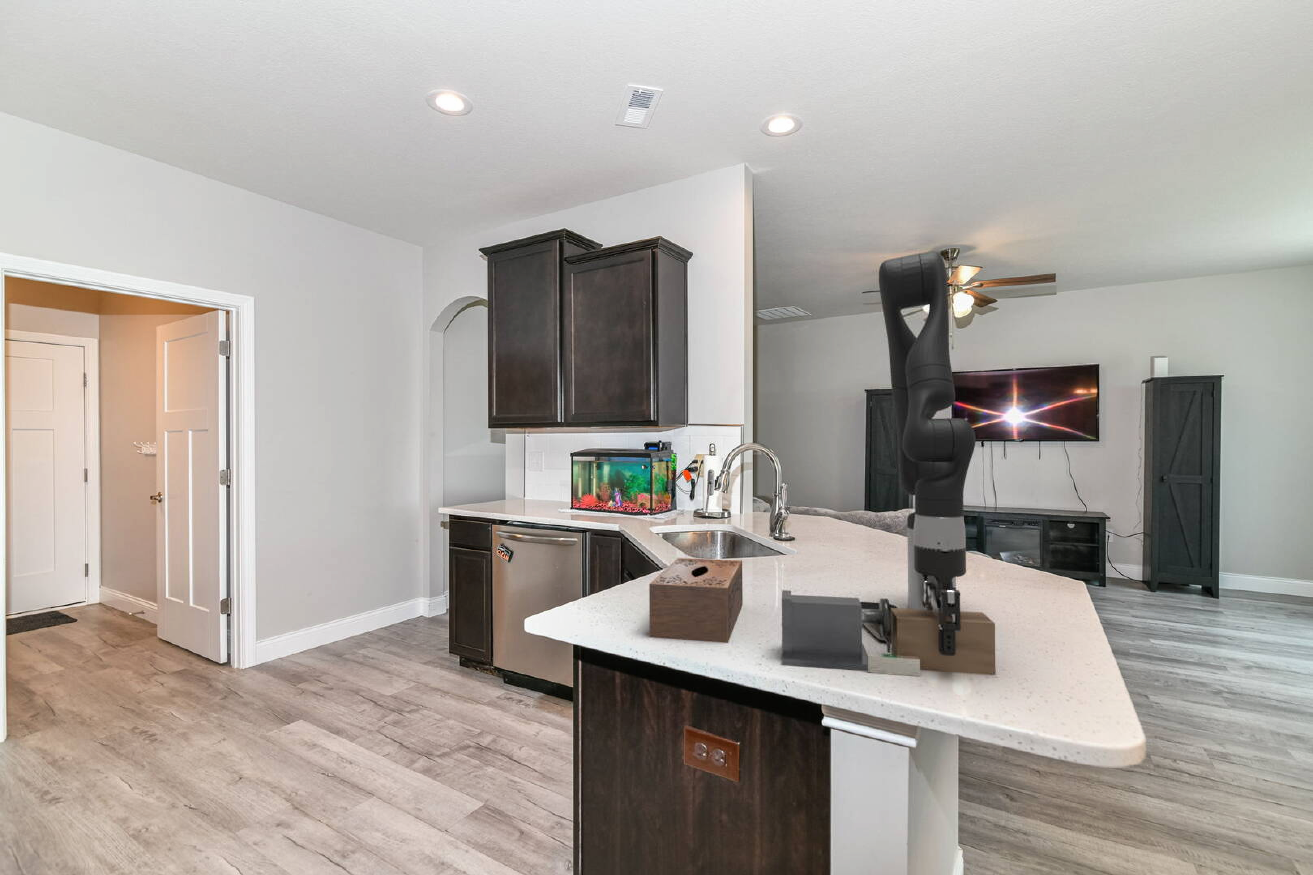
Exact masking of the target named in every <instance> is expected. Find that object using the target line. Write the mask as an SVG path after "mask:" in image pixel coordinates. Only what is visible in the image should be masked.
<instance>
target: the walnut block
mask: <svg viewBox="0 0 1313 875" xmlns="http://www.w3.org/2000/svg"><path fill="white" fill-rule="evenodd" d="M946 622H951V618H950V617H946ZM960 623H961V629H960V631H955V645H956V654H955V655H954V656H946V655H941V654H940V652H939V628H938V621H937V617H936V616H934V615H933V611H932V610H921V609H909V608H901V607H900V608H898V607H897V608H891V641H890V654H894V655H900V656H915V657H919V659H920V671H926V672H927V671H929V672H941V673H942V672H944V673H960V674H969V675H970V674H971V675H985V676H986V675H989V676H996V623H995V622H994V621H993V620H991V618H990V617H988V616H987V615H986V614H985V613H983V612H982V611H981V612H979V611H961V610H960Z"/></svg>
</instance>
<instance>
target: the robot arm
mask: <svg viewBox="0 0 1313 875" xmlns="http://www.w3.org/2000/svg"><path fill="white" fill-rule="evenodd" d="M947 276H948V275H947V269H946V264H945V261H944V258H943V256H942V255H941V254H940V253H939V252H938V251H926V252H919V253H914V254H910V255H903V256H900V257H894V258H890V259H886V260H883V261H882V263H881V264H880V266H879V271H878V283H879V285H878V287H879V293H880V298H881V300H880V302H881V308H882V312H883V317H884V323H885V330H886V335H887V336H886V337H887V344H888V354H889V357H888V358H889V369H890V370H889V371H890V383H891V394H892V401H893V408H894V413H895V421H896V422H895V423H896V431H897V452H898V453H897V454H898V458H897V459H898V476H899V477H898V478H899V483H900V484H899V485H900V487H901V490H902V492H903V493H904V494H906V495H909V496H914V512H911V513H909V514H908V516H907V519H906V520H907V521H906V524H907V527H906V528H907V529H906V531H907V533H906V534H907V602H908V603H907V604H908V606H907V609H921V610H932V611H933V615H934V616H936V617H937V621H938V628H939V652H940V654H941V655H946V656H954V655H955V654H956V645H955V631H960V629H961V623H960V611H961V592H960V590H959V589H957V578H960V577H963V576H965V575H966V574H967V550H966V549H967V545H966V542H967V540H966V538H967V536H966V535H967V533H966V525H965V524H966V523H965V520H964V518H965V517H964V492H965V491H964V490H965V489H964V488H965V485H966V484H965V483H966V480H967V474H968V470H969V467H970V464H971V461H972V457H973V454H974V451H975V446H976V441H977V440H976V432H975V430H974V428H973V426H972V424H971V423H970V422H969V421H967V419H964V418H960V417H959V418H956V417H955V418H953V417H951V418H948V417H947V418H934V417H935V415H936V414H937V413H938V412H940V411H941V412H942V411H944V410H946V409H948V408H950V407H952V405H953V404H954V402H956V389H955V383H954V377H953V370H952V365H951V356H950V322H949V321H950V317H949V316H950V315H949V311H950V310H949V293H948V292H949V291H948V290H949V288H948V278H947ZM928 305H929V306H928ZM922 306H928V308H929V310H928V314H927V318H926V320H925V322H924V324H923V327H922V328H921V330H920V332H919V334H918V336H917V337H916V335H915V334H914V332H912V330H911V328H910V327H909V325H908V324H907V322H906V320H905V318H904V316H903V314H902V310H903V309H904V310H905V309H908V308H914V307H922ZM946 617H950V618H951V622H946Z"/></svg>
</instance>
